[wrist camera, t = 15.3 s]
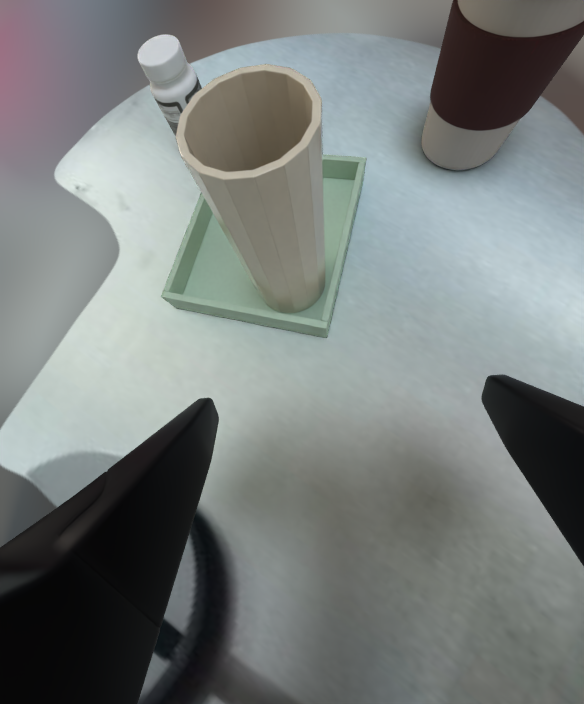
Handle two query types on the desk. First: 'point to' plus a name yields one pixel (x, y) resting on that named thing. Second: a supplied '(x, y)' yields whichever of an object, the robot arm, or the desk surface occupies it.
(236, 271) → the tray
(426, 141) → the coffee cup
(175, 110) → the pill bottle
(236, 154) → the tumbler
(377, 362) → the desk surface
